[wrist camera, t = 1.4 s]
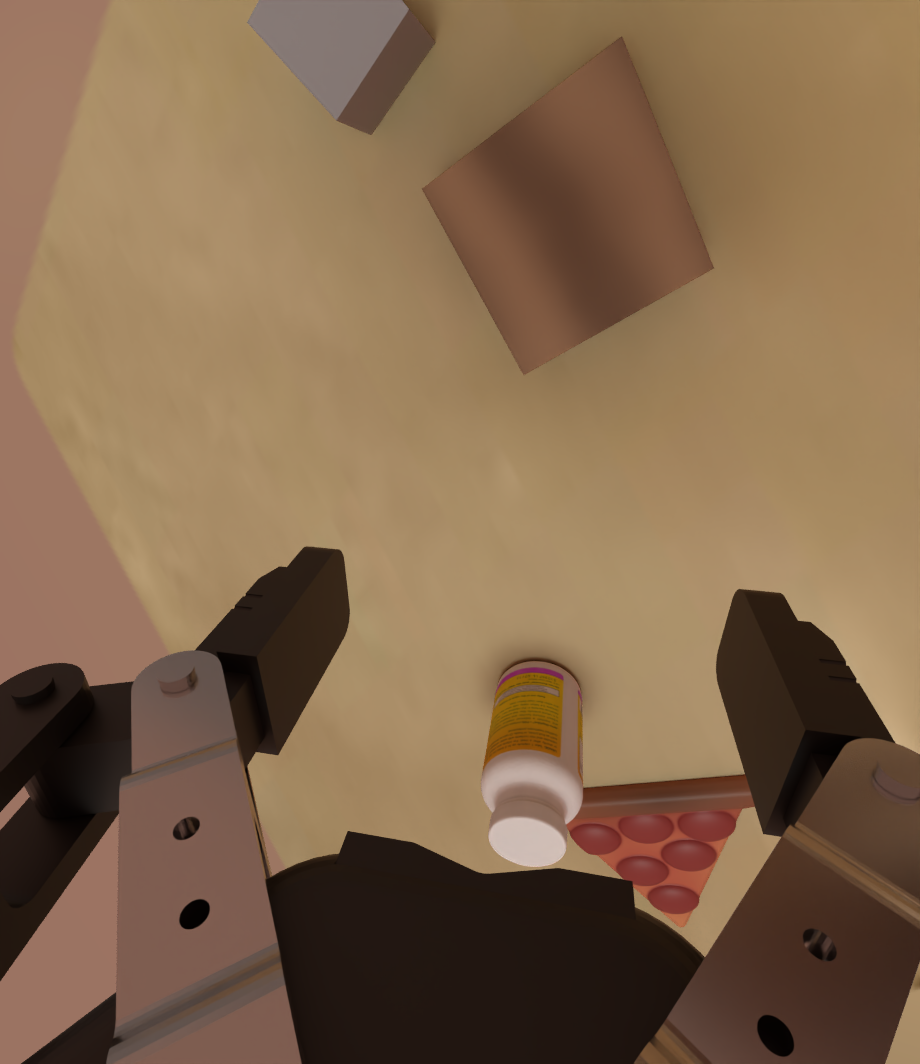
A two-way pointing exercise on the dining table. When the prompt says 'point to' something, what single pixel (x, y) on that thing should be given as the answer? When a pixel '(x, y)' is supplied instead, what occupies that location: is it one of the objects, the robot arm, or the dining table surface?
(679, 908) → the pepperoni pizza slice
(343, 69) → the grey cube
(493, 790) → the supplement bottle
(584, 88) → the walnut block
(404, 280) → the dining table surface
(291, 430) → the dining table surface
